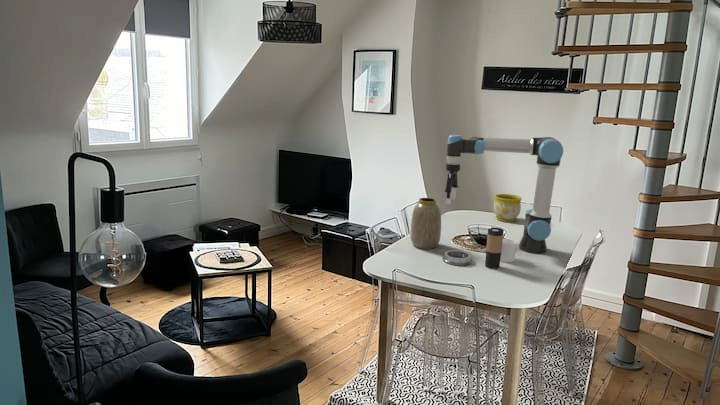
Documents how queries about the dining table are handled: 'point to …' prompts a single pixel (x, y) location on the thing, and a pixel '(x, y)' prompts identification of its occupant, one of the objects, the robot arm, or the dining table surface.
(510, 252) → the mug
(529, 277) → the dining table surface
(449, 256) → the ring
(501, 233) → the travel mug
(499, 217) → the flowerpot
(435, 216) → the vase
